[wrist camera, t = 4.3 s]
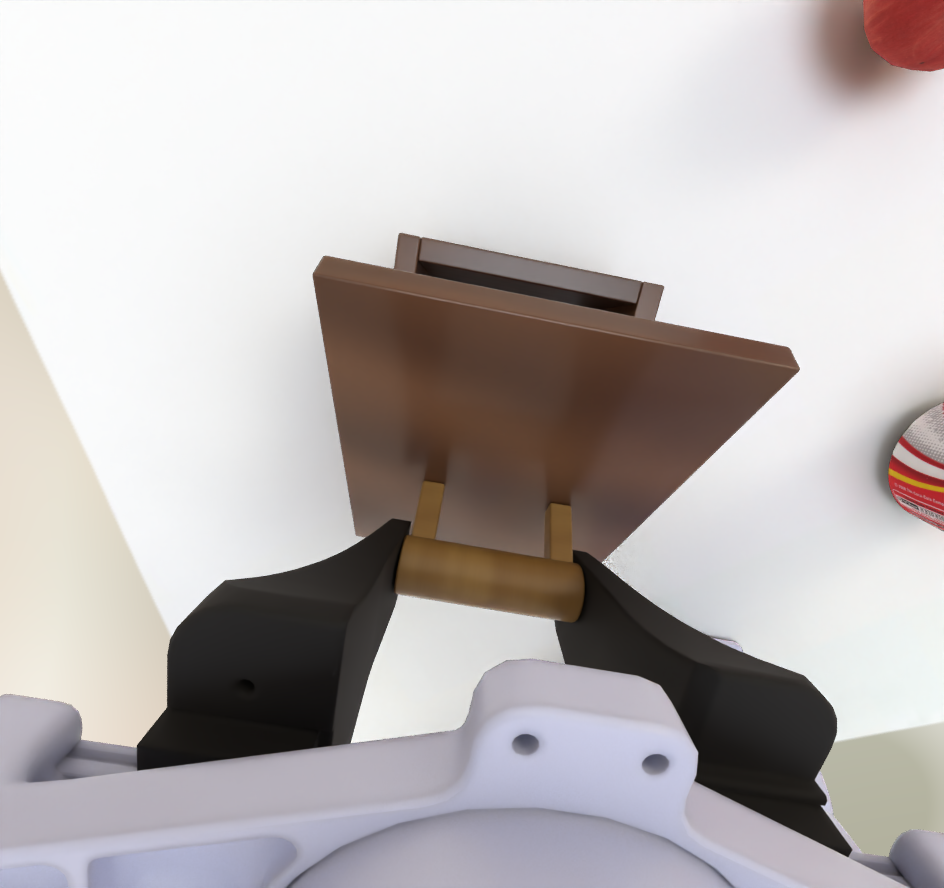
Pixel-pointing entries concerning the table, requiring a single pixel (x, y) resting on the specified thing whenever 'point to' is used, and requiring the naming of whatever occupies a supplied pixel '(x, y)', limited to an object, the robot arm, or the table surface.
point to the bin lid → (519, 426)
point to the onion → (906, 32)
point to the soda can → (921, 468)
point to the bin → (527, 276)
